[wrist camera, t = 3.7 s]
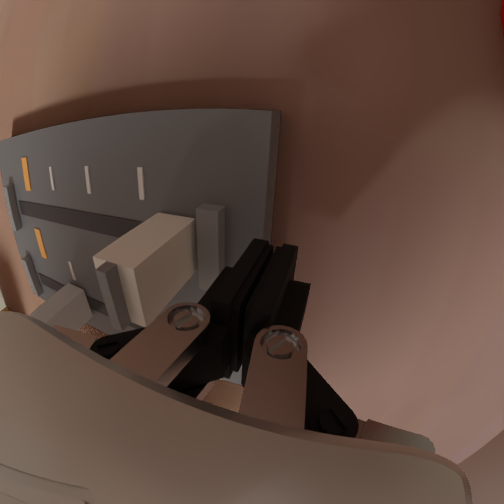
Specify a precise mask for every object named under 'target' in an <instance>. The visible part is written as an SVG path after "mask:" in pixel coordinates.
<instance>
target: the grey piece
mask: <svg viewBox="0 0 504 504" xmlns="http://www.w3.org/2000/svg"><path fill="white" fill-rule="evenodd" d="M501 20H502V26H503V34H504V0H502V6H501Z"/></svg>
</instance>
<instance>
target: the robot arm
mask: <svg viewBox="0 0 504 504" xmlns="http://www.w3.org/2000/svg"><path fill="white" fill-rule="evenodd" d="M273 249H274V246H273V245H269V241H267V240H262V239H257V238H254V239H253V240H252V241H251V243H250V244H249V246H248V247H247V249H246V250H245V251H244V253H243V254H242V256H241V257H240V258H239V260H238V261H237V263H236V264H235V265H234V267H229V266H226V267H225V268H224V269H223V270H222V271H221V273H220V274H219V275H218V277H217V278H216V279H215V281H214V282H213V283H212V285H211V286H210V287H209V289H208V290H207V291H206V293H205V294H204V295H203V297H202V298H201V299H200V301H199V302H198V303H194V302H182V303H177V304H175V305H172V306H171V307H169V308H168V309H166V310H165V311H164V312H163V313H162V314H161V315H160V316H158V317H157V318H156V319H155V320H154V321H153V322H152V323H150V324H149V325H148V326H147V327H144V328H139V329H135V330H130V331H126V332H121V333H117V334H112V335H108V336H105V337H102V338H100V339H99V338H98V336H96V335H92V334H88V333H84V332H81V331H77V330H73V329H69V328H66V327H62V326H56V325H55V326H49V325H47V324H45V323H44V322H42V321H40V320H38V319H36V318H33V317H31V316H29V315H25V314H22V313H19V312H13V311H0V504H473V501H472V492H471V487H470V483H469V480H468V478H467V476H466V474H465V472H464V471H463V470H462V469H461V468H460V467H459V466H458V465H456V464H455V463H454V462H452V461H450V460H448V459H446V458H444V457H442V456H440V455H438V454H435V447H434V445H433V443H432V442H431V441H430V440H429V438H427V437H425V436H423V435H420V434H416V433H412V432H409V431H405V430H402V429H398V428H395V427H392V426H388V425H385V424H382V423H379V422H376V421H373V420H370V419H368V420H367V421H363V420H360V419H357V417H356V415H355V414H354V412H353V411H352V410H351V409H350V408H349V407H348V405H347V404H346V403H345V402H344V401H343V400H342V399H341V398H340V396H339V395H338V394H337V393H336V392H335V391H334V390H333V389H332V387H331V386H330V385H329V384H328V383H327V382H326V381H325V379H324V378H323V377H322V376H321V375H320V374H319V373H318V372H317V370H316V369H315V368H314V367H313V366H312V365H311V363H310V362H309V361H308V360H307V341H306V339H305V338H304V336H303V335H302V334H301V333H300V329H301V325H302V321H303V317H304V313H305V309H306V304H307V300H308V295H309V290H310V285H311V284H309V283H304V282H299V281H294V280H293V279H294V272H295V266H296V259H297V253H298V246H294V245H288V244H283V246H282V247H279V246H277V248H276V250H275V252H274V253H273ZM241 365H242V375H241V384H242V386H243V387H244V391H243V396H242V400H241V405H240V409H239V413H237V412H234V411H231V410H228V409H225V408H222V407H219V406H216V405H213V404H210V403H207V402H204V401H202V400H203V399H204V398H205V396H206V395H207V394H208V393H209V391H210V390H211V389H212V387H213V385H214V381H215V380H218V379H221V378H223V377H224V378H227V379H230V377H231V375H232V373H233V371H234V372H238V371H239V370H240V367H241Z"/></svg>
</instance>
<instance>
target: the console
mask: <svg viewBox="0 0 504 504" xmlns="http://www.w3.org/2000/svg"><path fill="white" fill-rule="evenodd" d="M280 120H281V111H268V110H251V109H175V110H158V111H146V112H136V113H126V114H118V115H111V116H104V117H97V118H91V119H85V120H80V121H75V122H70V123H65V124H60V125H56V126H51V127H47V128H43V129H39V130H35V131H31V132H28V133H24V134H21V135H17V136H14V137H11V138H8V139H5V140H2V141H0V169H1V176H2V183H3V191H4V196H5V201H6V206H7V210H8V214H9V219H10V223H11V227H12V230H13V233H14V236H15V240H16V243H17V246H18V250H19V253H20V256H21V260H22V263H23V266H24V269H25V272H26V275H27V277H28V280H29V283H30V285H31V288H32V290H33V293H34V294H35V295H37V296H38V297H41V298H42V299H44V300H46V301H47V300H48V299H49V298H50V297H51V296H53V295H54V294H55V293H56V292H57V291H59V290H60V289H61V288H62V287H64V286H65V285H66V284H67V283H70V284H72V285H74V286H77V287H79V288H81V289H83V290H84V292H85V295H86V298H87V301H88V304H89V307H90V309H91V312H92V315H93V317H92V318H91V319H90V320H89V321H87V322H86V324H88V325H90V326H92V327H94V328H96V329H98V330H100V331H102V332H104V333H106V334H108V335H112V334H117V333H121V332H122V331H120V330H117V329H115V328H113V327H112V324H111V321H110V318H109V315H108V312H107V309H106V306H105V302H104V299H103V296H102V293H101V289H100V286H99V282H98V279H97V275H96V271H95V265H94V261H93V256H94V255H96V254H97V253H98V252H100V251H101V250H103V249H104V248H105V247H107V246H108V245H110V244H111V243H113V242H114V241H116V240H117V239H119V238H120V237H122V236H123V235H125V234H126V233H128V232H129V231H131V230H132V229H134V228H135V227H137V226H138V225H140V224H141V223H143V222H144V221H146V220H147V219H149V218H151V217H152V216H154V215H155V214H157V213H164V214H171V215H177V216H183V217H190V218H196V235H197V257H198V270H197V271H196V272H195V273H194V274H193V276H192V277H191V278H190V279H189V280H188V281H187V282H186V283H185V285H184V286H183V287H182V288H181V289H180V290H179V291H178V293H177V294H176V295H175V296H174V297H173V298H172V299H171V301H170V302H169V303H168V304H167V305H166V306H165V308H164V309H163V310H162V311H161V312H160V313H159V315H158V316H160V315H161V314H162V313H163V312H164V311H165V310H166V309H168V308H169V307H171V306H172V305H175V304H177V303H182V302H194V303H198V302H199V301H200V299H201V298H202V297H203V295H204V294H205V293H206V291H207V290H208V289H209V287H210V286H211V285H212V283H213V282H214V281H215V279H216V278H217V277H218V275H219V274H220V273H221V271H222V270H223V269H224V268H225V267H226V266H229V267H234V265H235V264H236V263H237V261H238V260H239V258H240V257H241V256H242V254H243V253H244V251H245V250H246V249H247V247H248V246H249V244H250V243H251V241H252V240H253V239H254V238H257V239H262V240H267V241H269V245H270V243H271V232H272V221H273V209H274V197H275V185H276V173H277V161H278V148H279V134H280ZM158 316H157V317H158ZM157 317H156V318H157ZM156 318H155V319H156ZM155 319H154V320H155ZM154 320H153V321H154ZM139 328H144V327H142V326H140V325H137V324H135V323H132V322H131V323H130V324H129V325H128V326H127V327H126V328H125V330H124V331H123V332H126V331H130V330H135V329H139ZM241 375H242V365H241V367H240V370H239V371H238V372H234V371H233V373H232V375H231V377H230V379H227V378H224V377H223V378H221V379H219V380H225V381H228V382H232V383H235V384H238V385H242V384H241Z"/></svg>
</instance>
